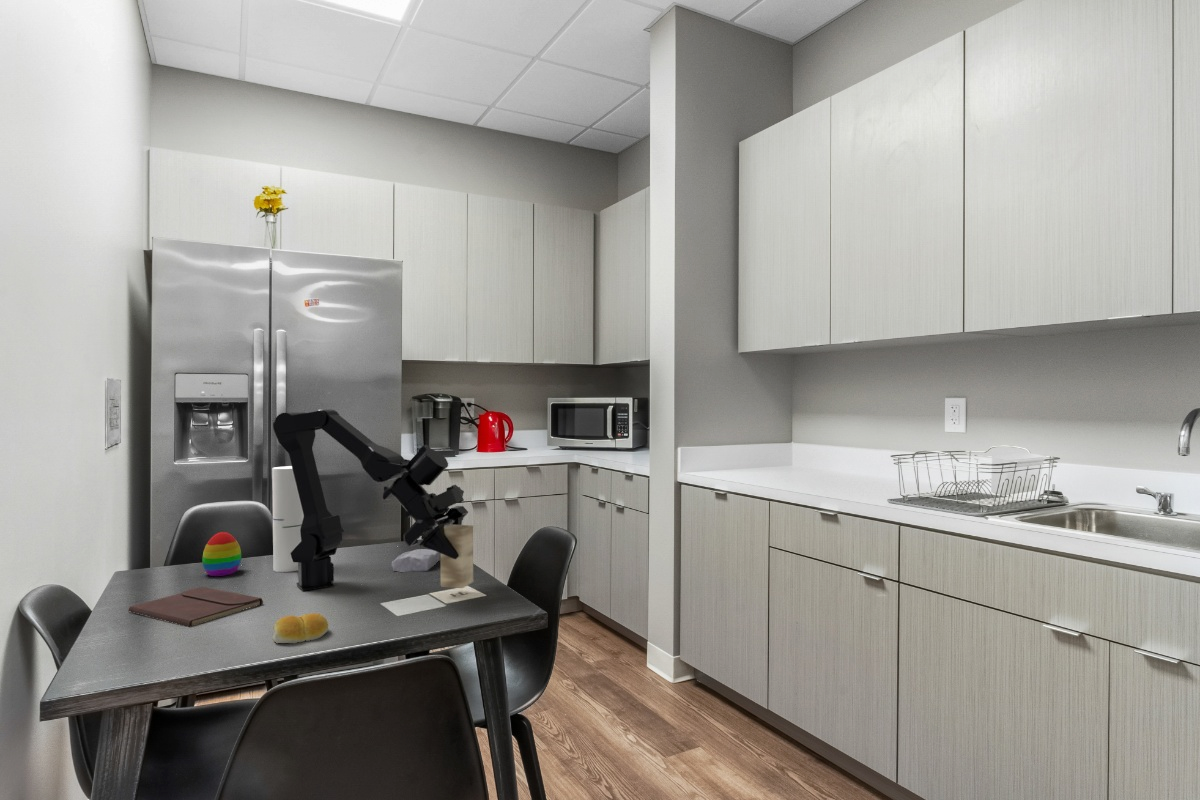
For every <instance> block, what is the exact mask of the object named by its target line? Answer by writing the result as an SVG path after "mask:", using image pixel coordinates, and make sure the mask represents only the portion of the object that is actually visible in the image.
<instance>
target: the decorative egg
mask: <svg viewBox="0 0 1200 800" xmlns="http://www.w3.org/2000/svg"><path fill="white" fill-rule="evenodd" d="M241 561H242V551H241V546H240V544H239V543H238V541H237V539H236V538H235V537H234V536H233V535H232V534H231V533H229V532H225V531H220V532H218V533H216V534H214V535H213V536H212V537H211V538H210V539H209V540H208V542H207V543H206V544H205V546H204V549H203V554H202V566H203V569H204V571H205V573H207V575H208V576H210V577H225V576H229V575H232V574H235V572H237V570H238V568H239V567H240V565H241Z"/></svg>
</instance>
